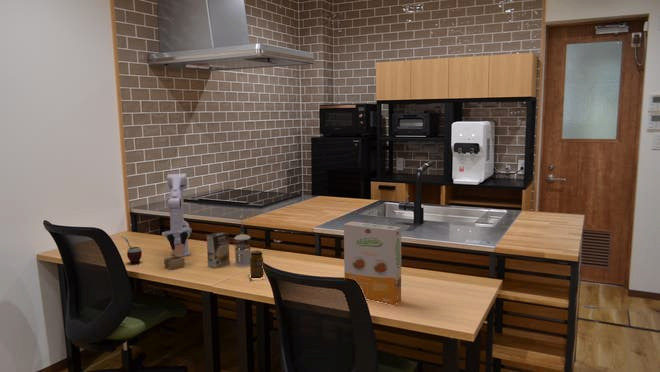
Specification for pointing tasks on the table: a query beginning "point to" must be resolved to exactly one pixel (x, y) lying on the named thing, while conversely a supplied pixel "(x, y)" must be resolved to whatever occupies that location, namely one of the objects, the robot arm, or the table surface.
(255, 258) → the condiment
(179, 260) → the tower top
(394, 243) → the cereal box
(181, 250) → the block
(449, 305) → the table surface
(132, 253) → the mate gourd
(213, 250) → the coffee box
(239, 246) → the french press
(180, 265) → the tower base
